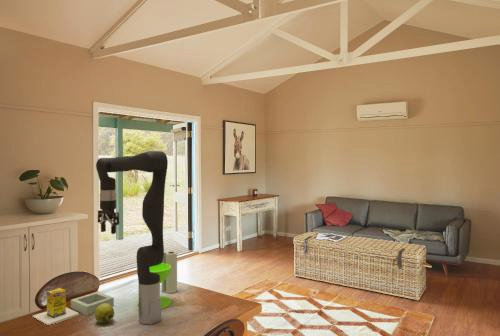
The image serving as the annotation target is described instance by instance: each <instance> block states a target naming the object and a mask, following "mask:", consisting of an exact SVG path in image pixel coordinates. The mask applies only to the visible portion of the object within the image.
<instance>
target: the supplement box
mask: <svg viewBox="0 0 500 336" xmlns="http://www.w3.org/2000/svg"><path fill="white" fill-rule="evenodd" d="M66 293H67V291H66V289H63V288H61V287H58V288H55V289H52V290H48V291H46V311H47V315H48V316H50V317H52V318H55V317H57V316H60V315H63V314H66V307H67V294H66Z"/></svg>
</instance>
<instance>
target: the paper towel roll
mask: <svg viewBox="0 0 500 336" xmlns="http://www.w3.org/2000/svg"><path fill="white" fill-rule="evenodd" d="M162 263H164V264H168V265H170V266H171V270H170V273H169V275H168V277H167V278H166V279H165V280H164V281H163V282H161V293H164V292H166V293H167V294H175V293H176V292H178V251H173V250H172V251H164V258H163V262H162Z"/></svg>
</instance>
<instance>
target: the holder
mask: <svg viewBox="0 0 500 336" xmlns="http://www.w3.org/2000/svg"><path fill="white" fill-rule="evenodd" d="M114 298H115V297H113V296H110V295H108V294H106V293H102V292H99V291H95V292H92V293H89V294H86V295H82V296H79V297H75V298H72V299H70V309H71V310H73V311H75V312H78V313H79V314H80V313H81V314H83V315H84V316H89V315H93V314H95V311H96V309H97V307H98V306H99V305H101V304H104V303H108V304H110V305H111V306H112V307H114V306H115V305H114V304H115V303H114V302H115V301H114V300H115V299H114Z"/></svg>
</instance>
